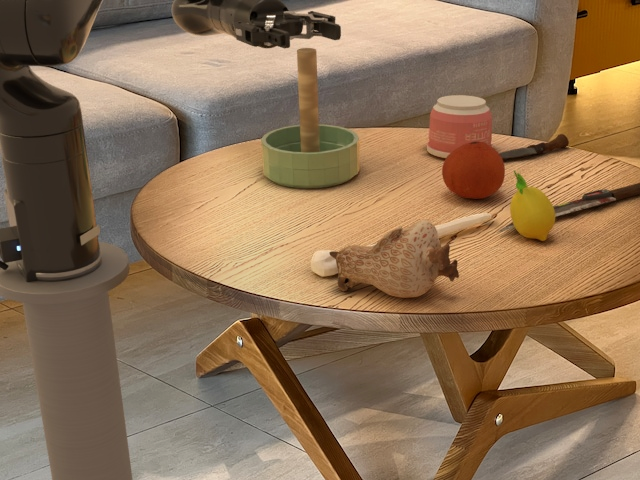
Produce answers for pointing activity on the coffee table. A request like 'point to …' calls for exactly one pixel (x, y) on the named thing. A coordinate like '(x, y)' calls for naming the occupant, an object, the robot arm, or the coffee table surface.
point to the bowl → (310, 157)
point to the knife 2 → (592, 200)
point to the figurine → (397, 262)
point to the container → (458, 124)
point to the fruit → (473, 170)
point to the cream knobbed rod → (327, 264)
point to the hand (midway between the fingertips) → (313, 36)
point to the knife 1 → (537, 148)
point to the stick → (308, 99)
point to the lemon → (531, 211)
